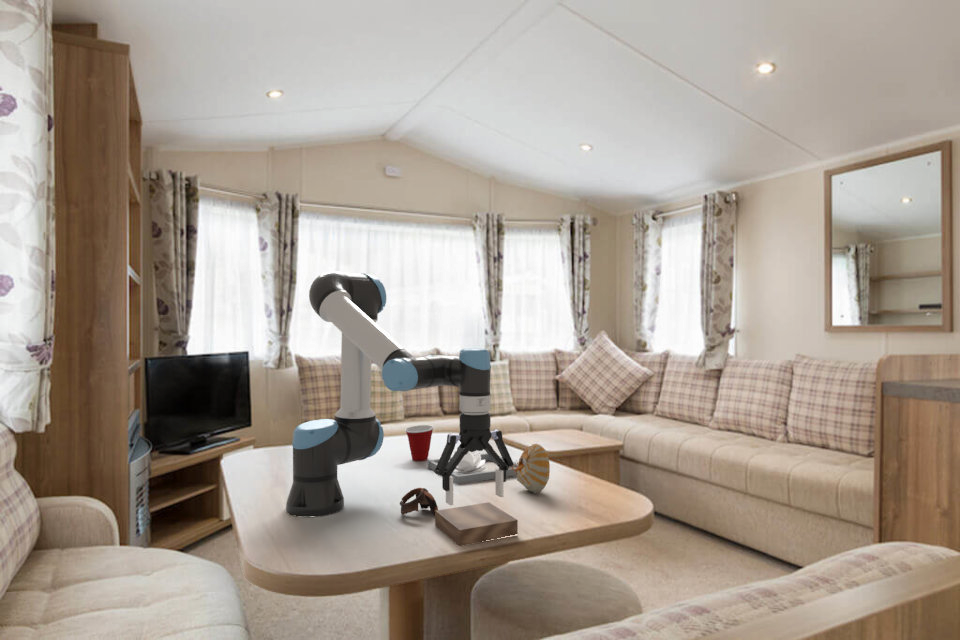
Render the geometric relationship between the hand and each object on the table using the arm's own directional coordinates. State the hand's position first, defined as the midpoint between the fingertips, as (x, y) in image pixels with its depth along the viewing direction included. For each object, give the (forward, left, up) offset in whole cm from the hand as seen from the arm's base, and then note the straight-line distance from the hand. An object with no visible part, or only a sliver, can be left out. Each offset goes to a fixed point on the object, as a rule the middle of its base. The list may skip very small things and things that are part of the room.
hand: (475, 499), depth 143 cm
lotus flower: (+22, +50, -9) cm, 56 cm away
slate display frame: (+27, +53, -8) cm, 60 cm away
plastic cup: (+16, +78, -9) cm, 80 cm away
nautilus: (+31, +25, -9) cm, 41 cm away
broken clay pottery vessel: (-5, +19, -9) cm, 21 cm away
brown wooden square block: (0, 0, -9) cm, 9 cm away
